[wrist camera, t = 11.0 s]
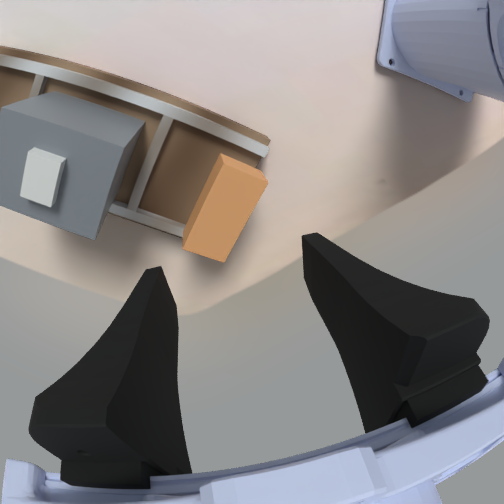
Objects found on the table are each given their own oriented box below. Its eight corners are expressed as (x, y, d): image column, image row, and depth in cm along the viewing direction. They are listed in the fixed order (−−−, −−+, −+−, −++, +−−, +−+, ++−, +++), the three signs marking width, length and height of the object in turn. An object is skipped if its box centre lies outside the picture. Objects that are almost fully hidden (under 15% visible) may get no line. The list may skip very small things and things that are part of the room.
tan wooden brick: (261, 171, 17) (268, 182, 15) (220, 245, 19) (224, 262, 17) (220, 153, 16) (223, 163, 14) (182, 232, 18) (182, 249, 16)
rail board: (266, 136, 19) (272, 142, 17) (211, 240, 22) (213, 253, 21) (-10, 43, 11) (-23, 44, 10) (-36, 154, 14) (-48, 162, 13)
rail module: (145, 121, 16) (121, 151, 10) (119, 188, 18) (91, 247, 12) (54, 90, 14) (-6, 109, 8) (35, 159, 15) (-20, 205, 10)
